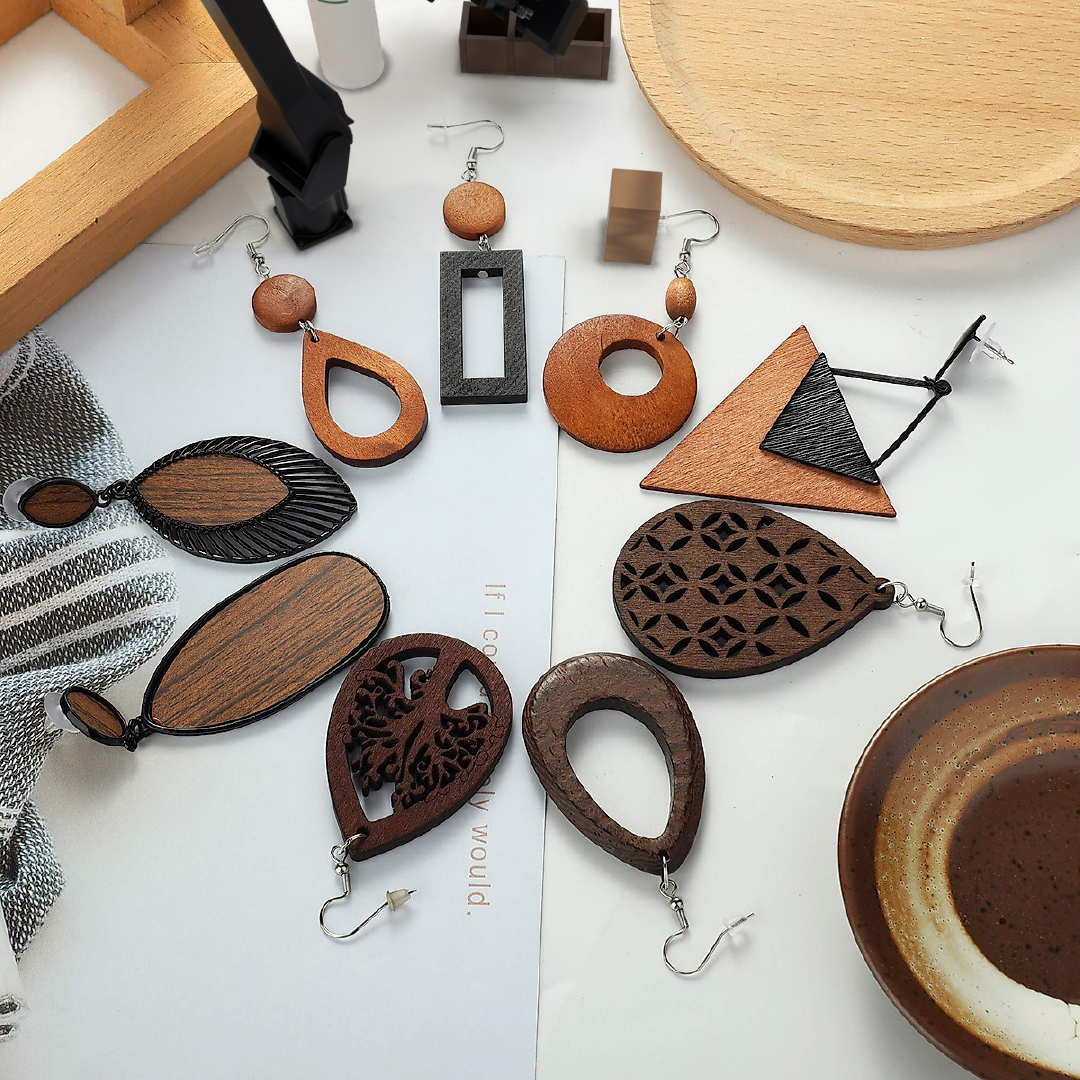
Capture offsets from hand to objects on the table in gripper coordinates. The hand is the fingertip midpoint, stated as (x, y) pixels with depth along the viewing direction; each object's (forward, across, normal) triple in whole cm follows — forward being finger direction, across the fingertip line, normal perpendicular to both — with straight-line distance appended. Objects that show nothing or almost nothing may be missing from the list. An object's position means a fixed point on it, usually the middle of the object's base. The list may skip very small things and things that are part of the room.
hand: (544, 9), depth 109 cm
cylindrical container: (-8, +14, +16) cm, 23 cm away
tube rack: (+3, 0, +5) cm, 6 cm away
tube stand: (-6, -26, +14) cm, 30 cm away
